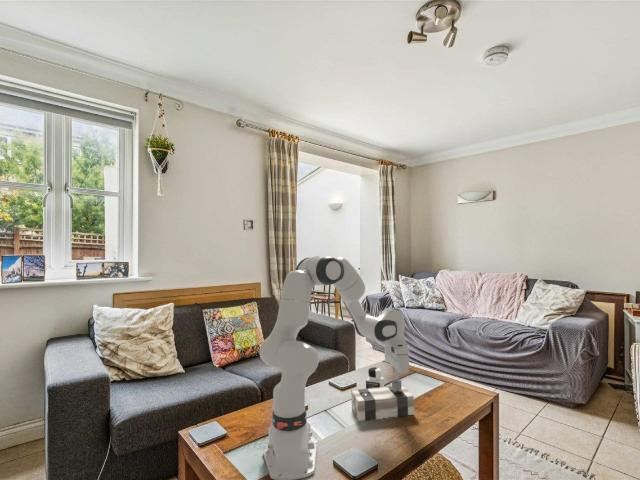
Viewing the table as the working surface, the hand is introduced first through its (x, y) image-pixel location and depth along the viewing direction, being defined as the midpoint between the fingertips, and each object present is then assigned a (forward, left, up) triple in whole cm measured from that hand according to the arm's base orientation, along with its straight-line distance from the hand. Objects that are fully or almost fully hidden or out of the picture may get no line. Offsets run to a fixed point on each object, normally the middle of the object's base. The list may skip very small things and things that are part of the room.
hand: (396, 376), depth 149 cm
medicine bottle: (+19, +4, -15) cm, 24 cm away
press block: (0, +7, -14) cm, 16 cm away
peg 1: (0, +14, -13) cm, 19 cm away
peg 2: (0, 0, -9) cm, 9 cm away
